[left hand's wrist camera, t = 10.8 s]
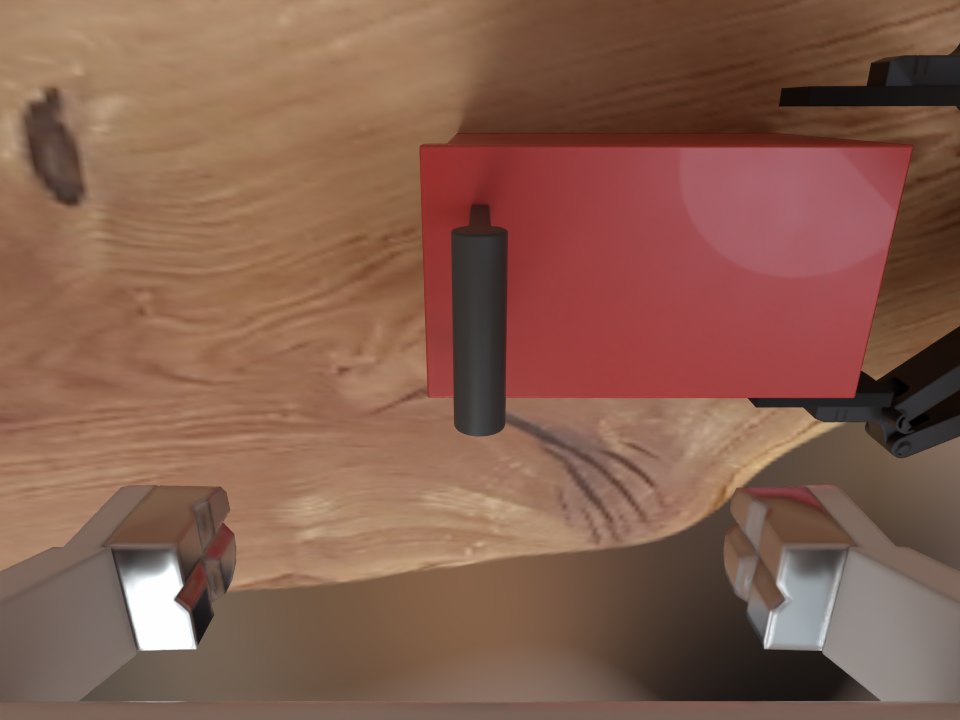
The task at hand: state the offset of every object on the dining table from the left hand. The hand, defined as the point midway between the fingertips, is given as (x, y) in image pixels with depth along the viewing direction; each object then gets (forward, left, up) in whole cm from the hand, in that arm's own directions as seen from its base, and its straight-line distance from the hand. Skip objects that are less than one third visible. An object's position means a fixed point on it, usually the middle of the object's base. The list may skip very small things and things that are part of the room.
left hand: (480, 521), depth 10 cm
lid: (+5, +4, -17) cm, 18 cm away
